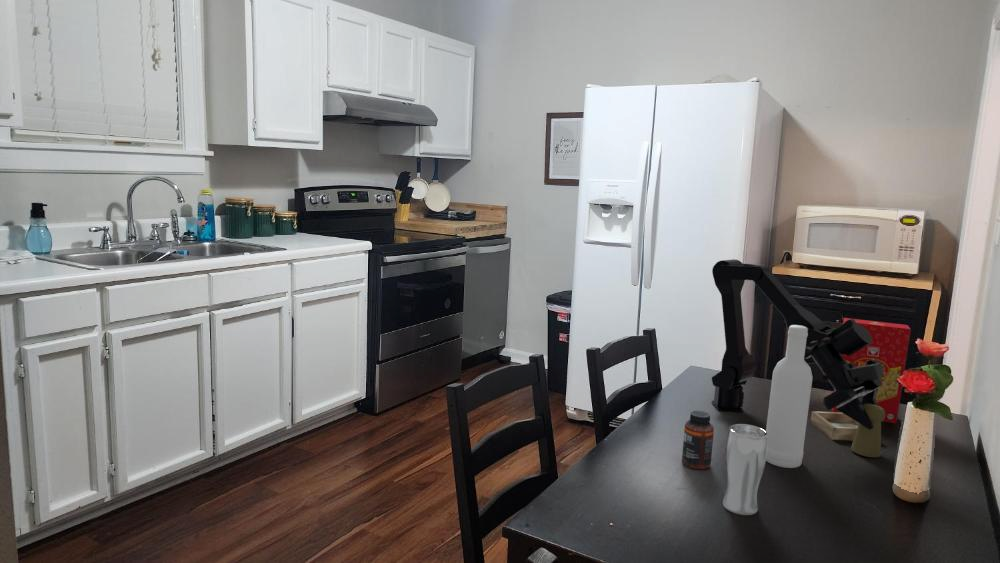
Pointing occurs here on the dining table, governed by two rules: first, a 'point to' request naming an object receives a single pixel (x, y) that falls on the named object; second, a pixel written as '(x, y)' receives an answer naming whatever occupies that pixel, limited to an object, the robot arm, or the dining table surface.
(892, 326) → the food packaging
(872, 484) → the dining table surface
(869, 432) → the olive green pepper shaker
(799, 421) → the bottle
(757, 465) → the beer glass
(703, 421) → the supplement bottle
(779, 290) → the robot arm
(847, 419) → the oak box
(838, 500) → the dining table surface
